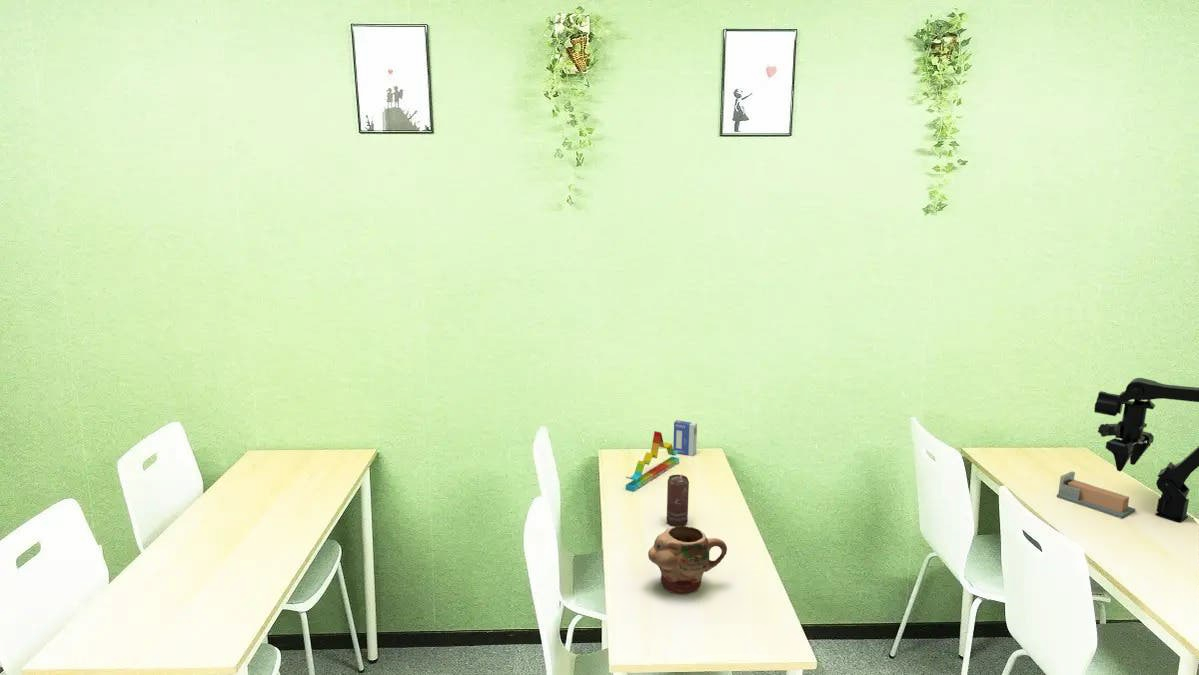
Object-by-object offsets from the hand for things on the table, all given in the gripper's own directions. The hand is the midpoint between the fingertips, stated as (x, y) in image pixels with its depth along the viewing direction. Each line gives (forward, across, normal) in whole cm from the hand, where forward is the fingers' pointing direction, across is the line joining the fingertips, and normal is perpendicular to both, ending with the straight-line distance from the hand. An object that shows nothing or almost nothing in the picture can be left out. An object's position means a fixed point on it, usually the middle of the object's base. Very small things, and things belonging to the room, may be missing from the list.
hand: (1125, 467), depth 250 cm
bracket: (+12, +6, -10) cm, 17 cm away
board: (+12, +6, -4) cm, 14 cm away
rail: (+11, +6, -4) cm, 14 cm away
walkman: (+12, +83, -110) cm, 138 cm away
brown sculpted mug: (+12, +143, -41) cm, 149 cm away
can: (+12, +122, -69) cm, 141 cm away
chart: (+13, +105, -100) cm, 146 cm away
